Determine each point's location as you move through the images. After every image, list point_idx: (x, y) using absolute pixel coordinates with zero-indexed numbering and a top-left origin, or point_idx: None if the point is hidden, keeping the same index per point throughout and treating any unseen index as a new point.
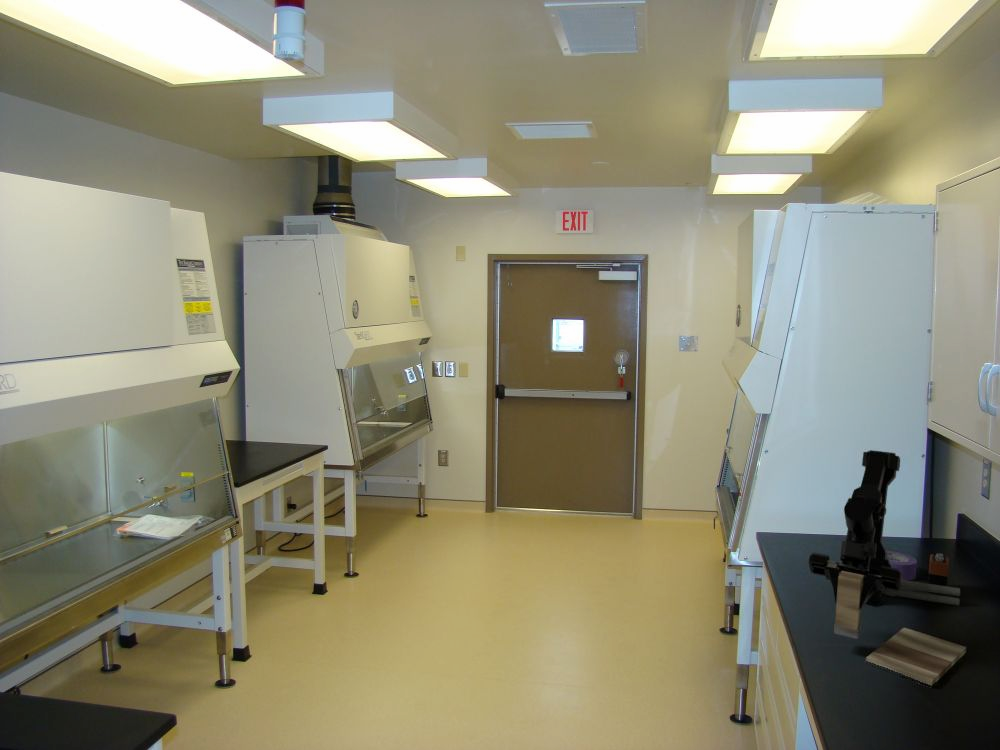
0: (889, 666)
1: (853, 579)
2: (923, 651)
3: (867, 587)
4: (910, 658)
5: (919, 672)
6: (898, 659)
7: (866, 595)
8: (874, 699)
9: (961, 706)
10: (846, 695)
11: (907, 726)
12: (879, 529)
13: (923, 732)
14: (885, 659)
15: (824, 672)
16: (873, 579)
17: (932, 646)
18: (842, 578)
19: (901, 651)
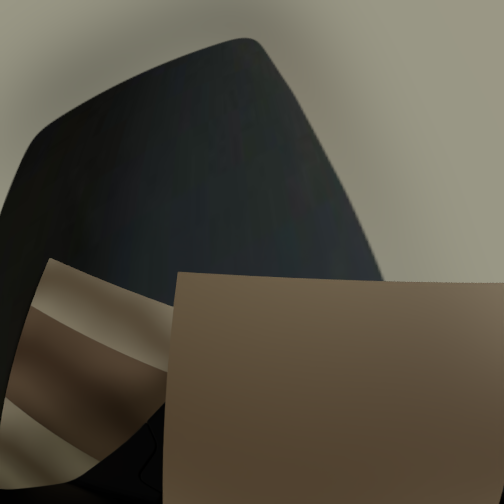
0: (136, 294)
1: (314, 323)
2: (55, 440)
3: (136, 471)
4: (81, 376)
5: (67, 291)
6: (110, 353)
7: (159, 411)
8: (186, 144)
9: (30, 213)
10: (243, 131)
11: (139, 98)
12: None
13: (119, 97)
14: (145, 333)
15: (308, 206)
16: (29, 499)
17: (42, 478)
18: (465, 287)
19: (104, 417)
